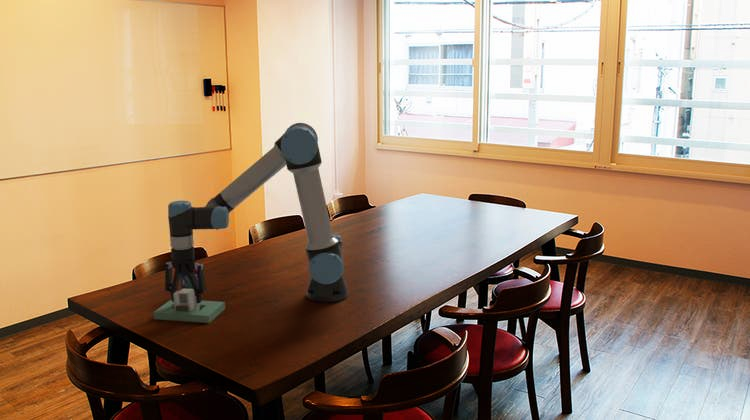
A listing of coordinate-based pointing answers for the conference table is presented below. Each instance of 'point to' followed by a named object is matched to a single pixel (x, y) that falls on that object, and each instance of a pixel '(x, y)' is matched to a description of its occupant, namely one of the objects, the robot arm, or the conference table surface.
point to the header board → (190, 312)
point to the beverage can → (187, 280)
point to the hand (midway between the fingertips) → (187, 310)
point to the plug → (186, 298)
